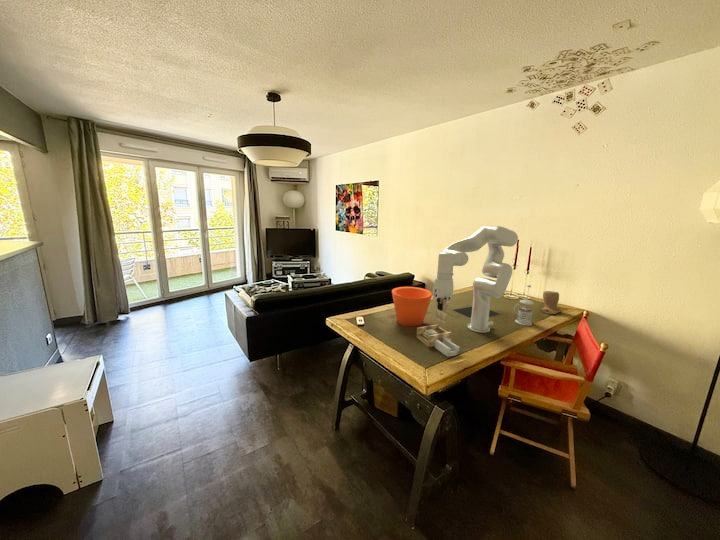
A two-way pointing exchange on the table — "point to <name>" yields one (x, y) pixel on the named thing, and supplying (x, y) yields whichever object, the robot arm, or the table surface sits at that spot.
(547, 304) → the stone cup
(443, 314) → the wooden board
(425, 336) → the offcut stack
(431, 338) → the rack
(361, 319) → the table surface
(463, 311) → the tablet
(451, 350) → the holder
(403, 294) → the flowerpot
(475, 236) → the robot arm
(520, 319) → the french press
